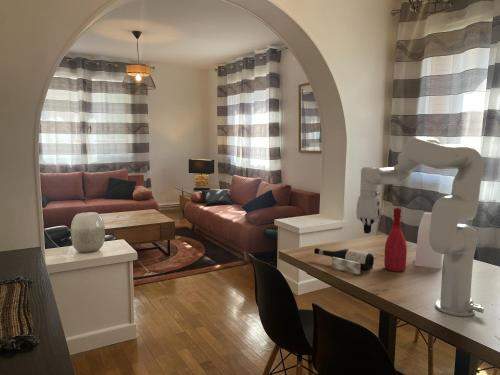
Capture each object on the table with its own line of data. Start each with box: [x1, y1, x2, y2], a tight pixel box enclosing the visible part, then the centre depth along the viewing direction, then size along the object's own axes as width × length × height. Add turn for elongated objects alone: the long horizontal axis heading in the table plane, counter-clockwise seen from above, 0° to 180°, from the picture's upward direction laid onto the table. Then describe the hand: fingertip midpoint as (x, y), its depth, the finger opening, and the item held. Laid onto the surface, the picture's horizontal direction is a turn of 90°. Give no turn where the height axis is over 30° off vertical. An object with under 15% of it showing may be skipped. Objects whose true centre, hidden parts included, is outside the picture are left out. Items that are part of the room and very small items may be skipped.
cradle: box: [331, 257, 374, 277], centre depth 181 cm, size 14×14×6 cm
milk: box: [414, 212, 443, 270], centre depth 188 cm, size 12×12×26 cm
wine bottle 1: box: [313, 247, 375, 271], centre depth 186 cm, size 8×8×30 cm
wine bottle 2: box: [383, 207, 408, 273], centre depth 180 cm, size 10×10×30 cm
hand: (367, 232), depth 174 cm, fingers closed
